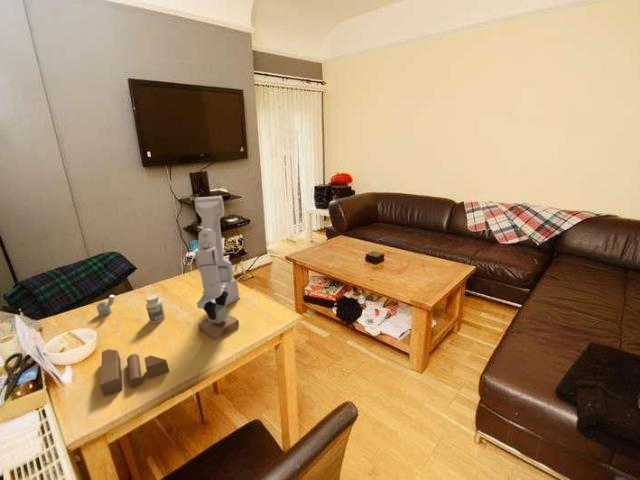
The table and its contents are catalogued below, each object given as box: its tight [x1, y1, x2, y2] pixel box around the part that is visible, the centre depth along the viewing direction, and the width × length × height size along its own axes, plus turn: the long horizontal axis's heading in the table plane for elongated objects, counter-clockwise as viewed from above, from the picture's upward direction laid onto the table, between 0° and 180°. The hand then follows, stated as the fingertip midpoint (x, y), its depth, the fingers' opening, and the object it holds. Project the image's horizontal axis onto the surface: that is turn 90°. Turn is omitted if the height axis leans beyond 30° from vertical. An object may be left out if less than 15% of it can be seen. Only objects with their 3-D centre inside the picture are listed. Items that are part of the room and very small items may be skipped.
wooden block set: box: [99, 349, 170, 398], centre depth 97 cm, size 17×6×18 cm
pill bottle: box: [145, 294, 166, 324], centre depth 121 cm, size 5×5×10 cm
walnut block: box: [198, 313, 240, 341], centre depth 115 cm, size 10×10×3 cm
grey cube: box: [207, 304, 227, 323], centre depth 114 cm, size 4×4×4 cm
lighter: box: [96, 294, 116, 316], centre depth 127 cm, size 7×2×8 cm, turn 98°
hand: (217, 315), depth 114 cm, fingers closed on grey cube, 4 cm apart
